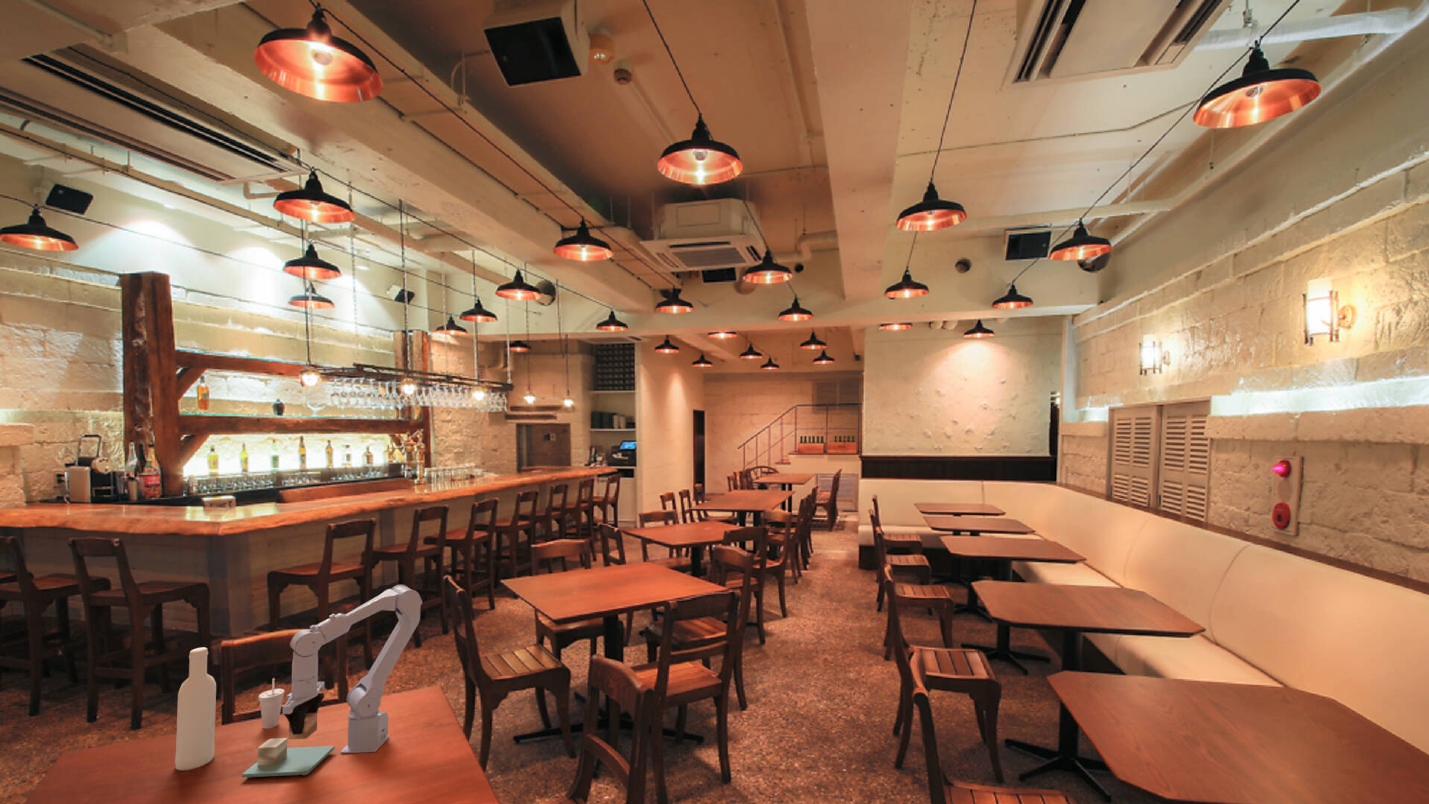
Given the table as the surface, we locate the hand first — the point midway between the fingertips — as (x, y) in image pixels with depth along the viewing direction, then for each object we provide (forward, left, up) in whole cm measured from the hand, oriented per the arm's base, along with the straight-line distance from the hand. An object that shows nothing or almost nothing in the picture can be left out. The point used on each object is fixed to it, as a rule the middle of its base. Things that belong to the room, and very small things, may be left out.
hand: (303, 728), depth 155 cm
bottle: (+31, -4, -10) cm, 32 cm away
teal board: (+4, 0, -10) cm, 11 cm away
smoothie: (+24, -23, -10) cm, 35 cm away
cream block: (+8, 0, -8) cm, 11 cm away
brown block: (0, 0, -2) cm, 2 cm away
